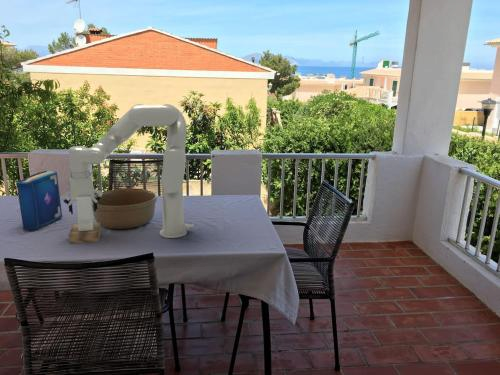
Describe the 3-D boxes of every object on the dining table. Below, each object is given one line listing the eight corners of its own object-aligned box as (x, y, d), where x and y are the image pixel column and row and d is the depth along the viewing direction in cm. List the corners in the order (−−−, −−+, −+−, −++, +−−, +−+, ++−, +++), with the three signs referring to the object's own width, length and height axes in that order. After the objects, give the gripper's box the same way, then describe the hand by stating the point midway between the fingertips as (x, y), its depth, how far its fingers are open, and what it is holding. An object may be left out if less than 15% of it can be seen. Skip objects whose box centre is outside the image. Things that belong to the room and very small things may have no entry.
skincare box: (93, 230, 182) (91, 197, 178) (77, 231, 180) (75, 198, 176) (93, 224, 190) (92, 192, 186) (77, 225, 188) (76, 192, 184)
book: (33, 232, 190) (27, 180, 184) (20, 231, 192) (13, 179, 185) (63, 218, 211) (58, 170, 205) (51, 216, 212) (45, 169, 206)
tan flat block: (100, 232, 194) (99, 222, 192) (98, 242, 182) (98, 232, 181) (73, 235, 190) (72, 224, 189) (69, 245, 179) (68, 234, 178)
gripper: (100, 171, 186) (103, 207, 190) (58, 174, 178) (62, 211, 183) (102, 175, 179) (104, 212, 183) (58, 178, 172) (62, 216, 176)
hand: (83, 211), depth 183 cm, fingers open, 9 cm apart
